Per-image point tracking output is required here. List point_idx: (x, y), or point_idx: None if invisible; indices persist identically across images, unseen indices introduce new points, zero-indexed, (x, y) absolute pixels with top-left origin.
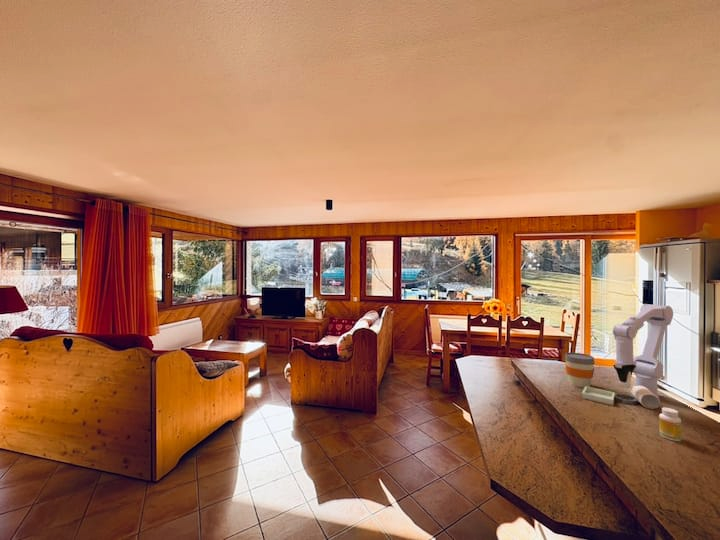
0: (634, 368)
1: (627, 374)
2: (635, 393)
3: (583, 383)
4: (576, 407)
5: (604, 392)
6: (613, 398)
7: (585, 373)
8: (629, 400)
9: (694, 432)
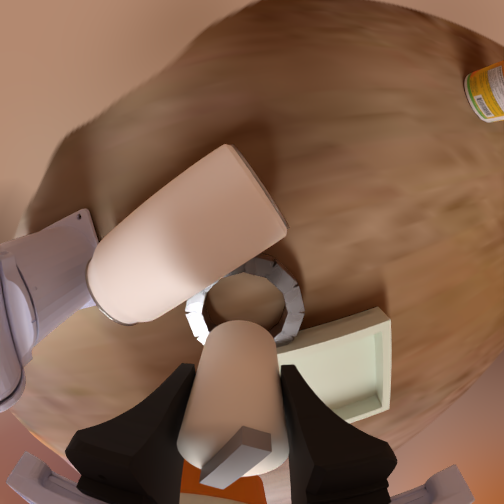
0: (103, 428)
1: (314, 414)
2: (210, 284)
3: None
4: (471, 349)
5: None
6: (361, 329)
7: (246, 488)
8: (285, 281)
9: (380, 32)
